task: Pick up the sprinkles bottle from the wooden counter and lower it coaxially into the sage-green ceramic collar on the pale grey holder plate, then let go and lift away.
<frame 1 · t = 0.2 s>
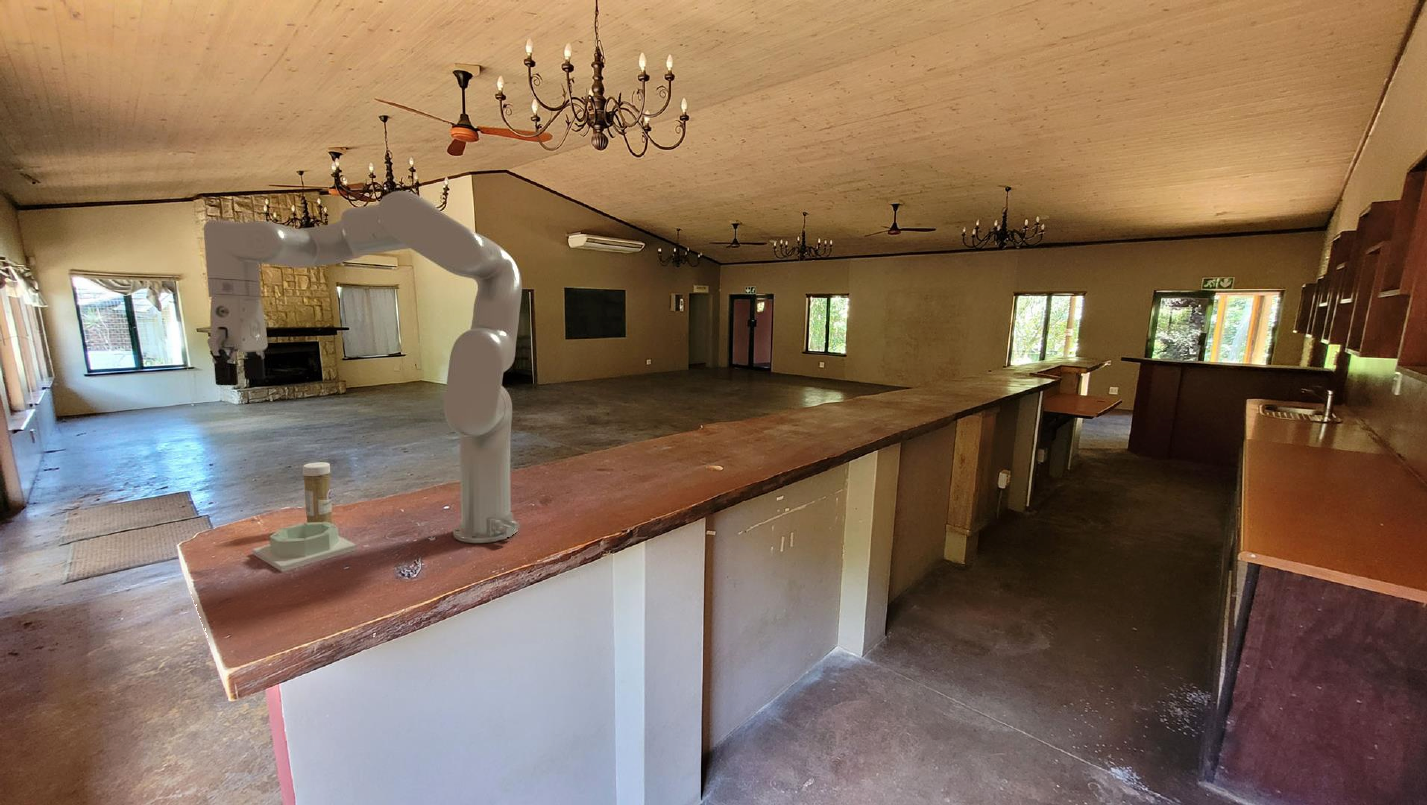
hand: (241, 382, 107), 30 cm above the worktop, tool pointing down, fingers open, 9 cm apart
sprinkles bottle: (320, 528, 116), on the worktop
bottle collar: (306, 551, 105), on the worktop
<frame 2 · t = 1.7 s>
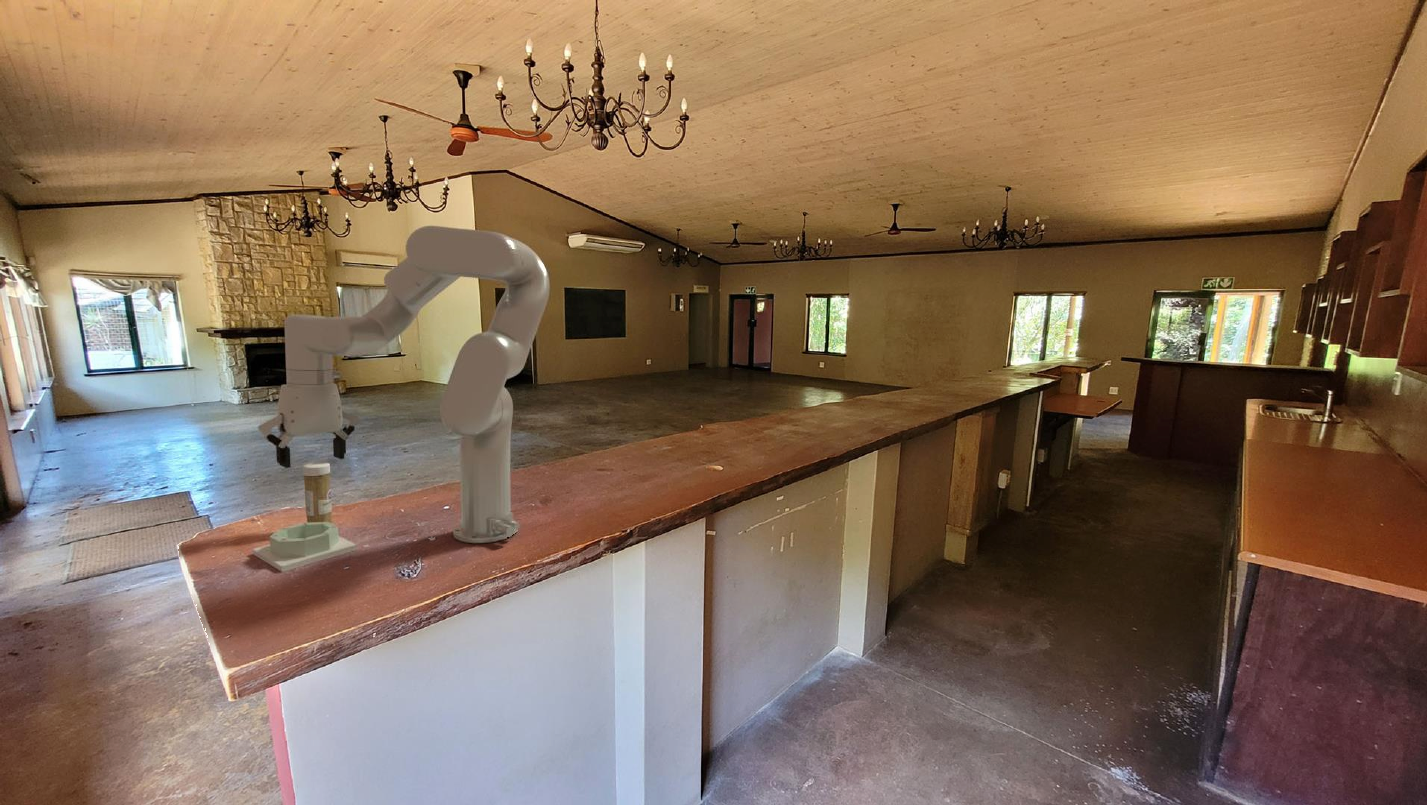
hand: (312, 461, 114), 14 cm above the worktop, tool pointing down, fingers open, 9 cm apart
nothing on the worktop moved.
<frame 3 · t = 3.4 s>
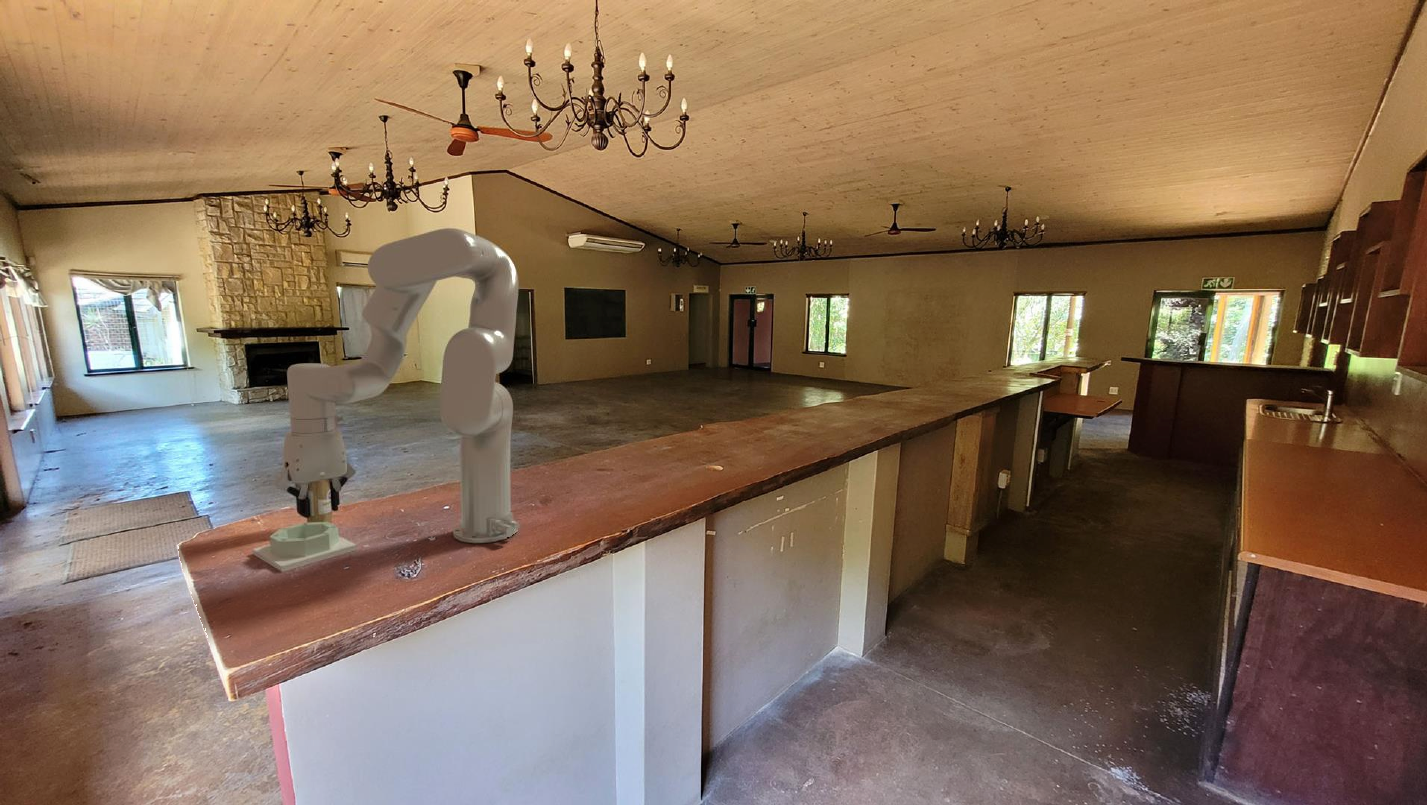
hand: (319, 511, 116), 3 cm above the worktop, tool pointing down, fingers closed on sprinkles bottle, 4 cm apart
sprinkles bottle: (320, 528, 116), on the worktop, touching gripper
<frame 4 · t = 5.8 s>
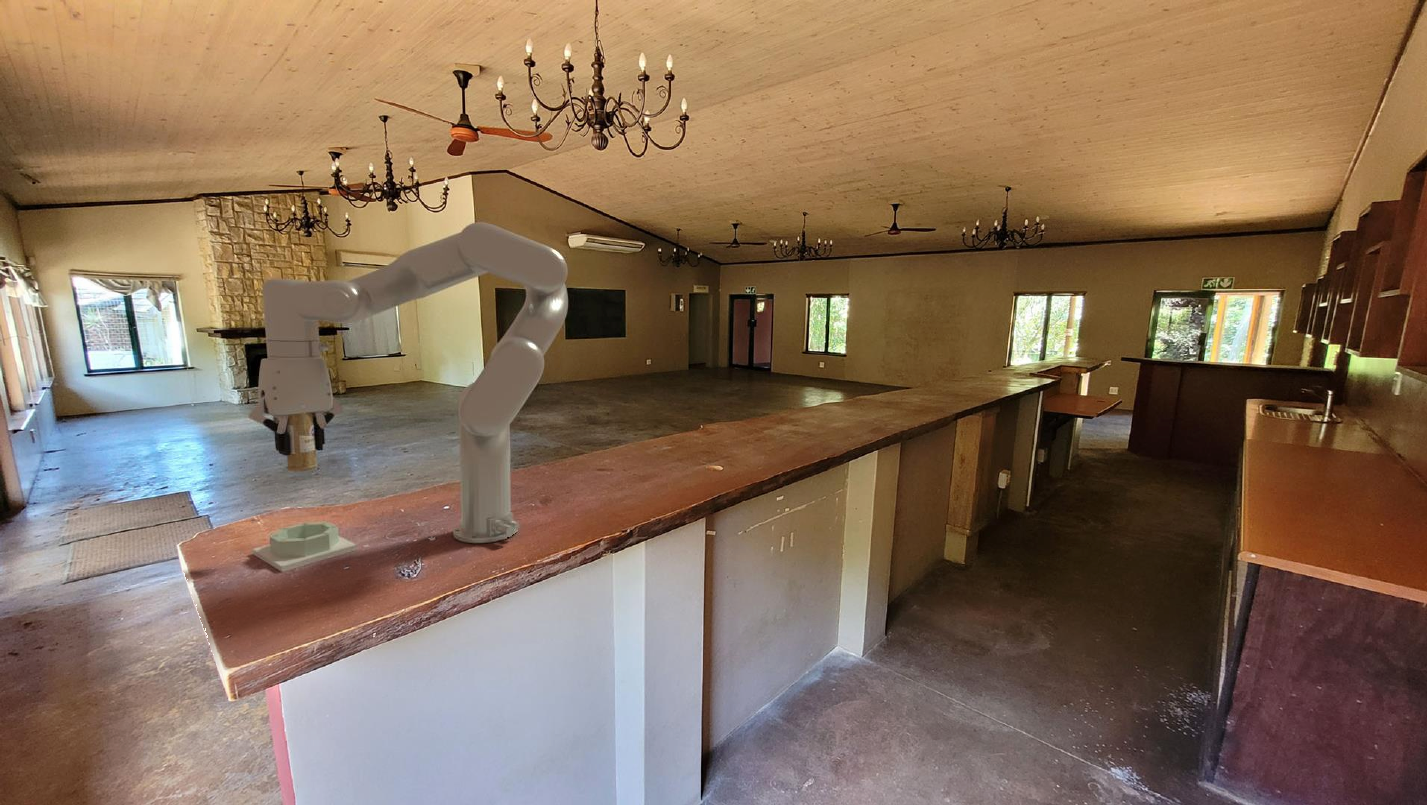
hand: (301, 450, 102), 19 cm above the worktop, tool pointing down, fingers closed on sprinkles bottle, 4 cm apart
sprinkles bottle: (302, 469, 103), point 16 cm above the worktop, touching gripper
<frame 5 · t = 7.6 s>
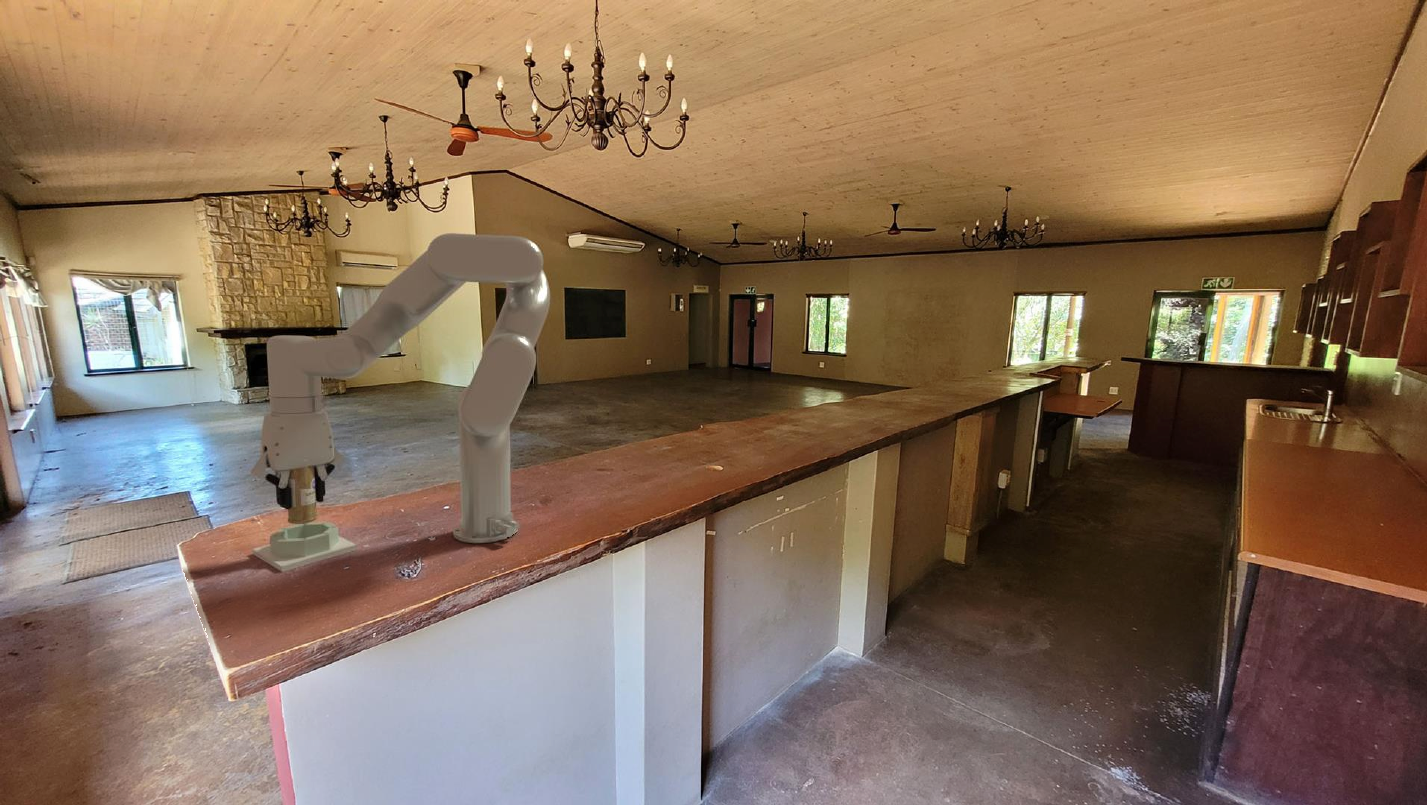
hand: (301, 503, 103), 9 cm above the worktop, tool pointing down, fingers closed on sprinkles bottle, 4 cm apart
sprinkles bottle: (302, 521, 104), point 6 cm above the worktop, touching gripper
when the fingers open (6 cm above the worktop, at t = 8.6 s): sprinkles bottle drops 2 cm, resting on bottle collar.
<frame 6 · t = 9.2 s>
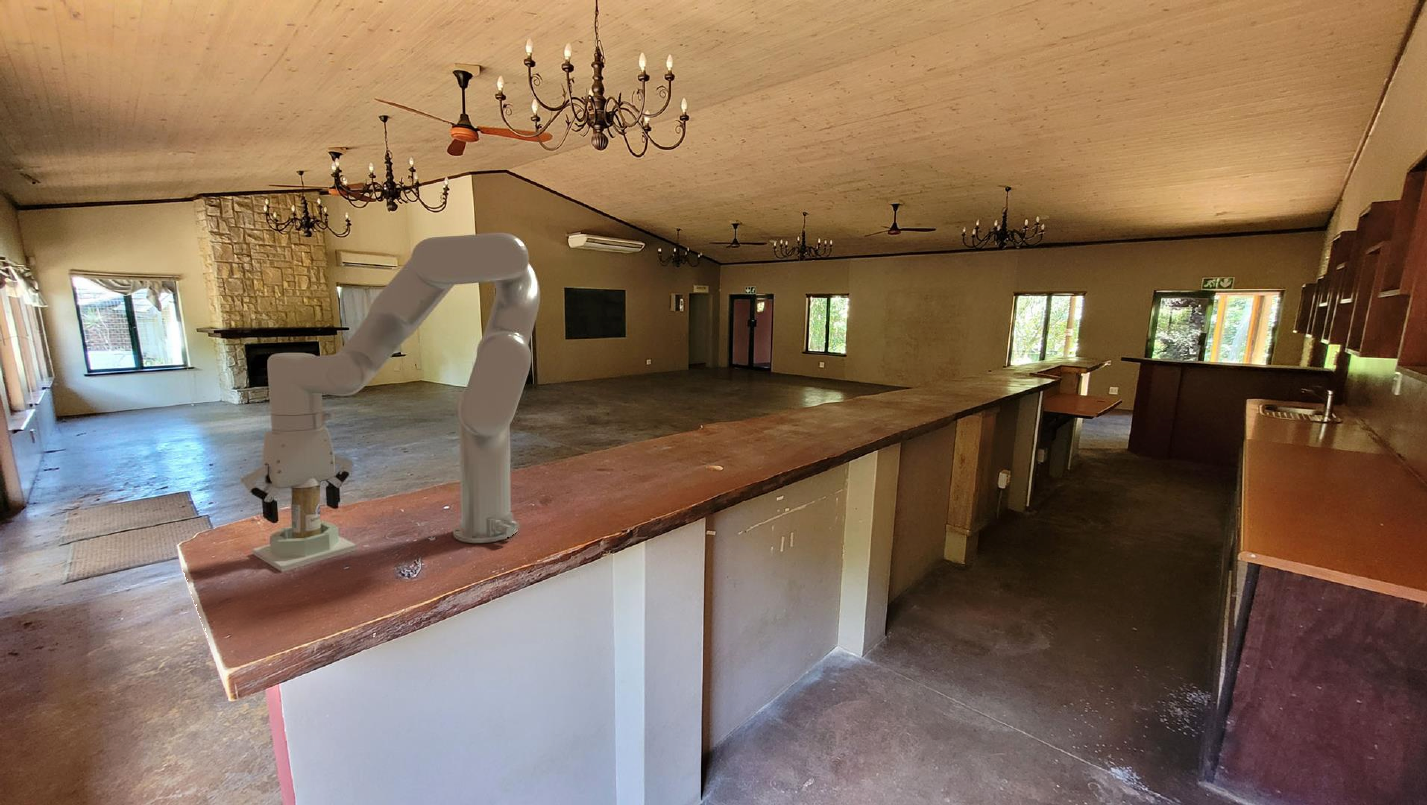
hand: (303, 514, 104), 7 cm above the worktop, tool pointing down, fingers open, 9 cm apart
sprinkles bottle: (306, 547, 105), point 1 cm above the worktop, touching bottle collar
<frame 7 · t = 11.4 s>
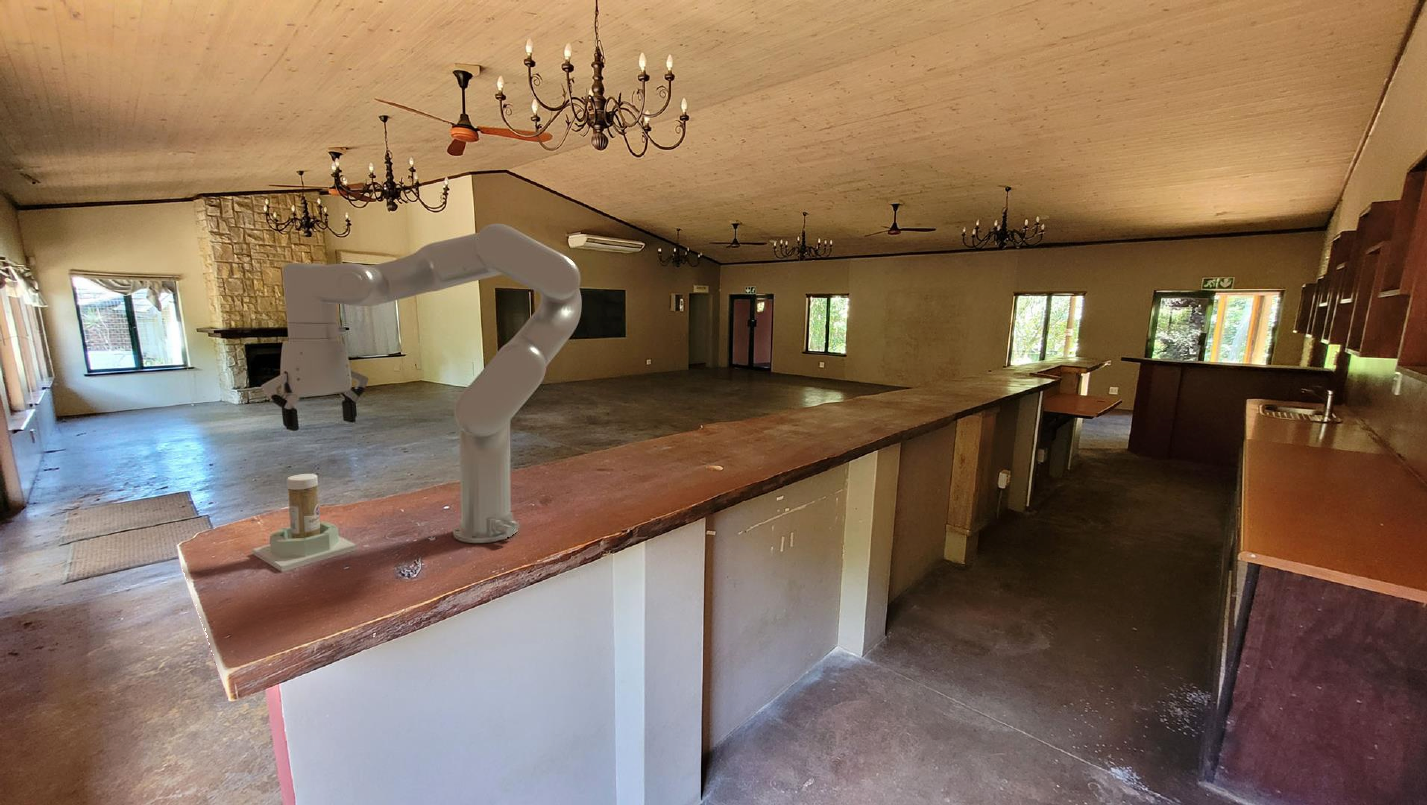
hand: (322, 425, 105), 23 cm above the worktop, tool pointing down, fingers open, 9 cm apart
nothing on the worktop moved.
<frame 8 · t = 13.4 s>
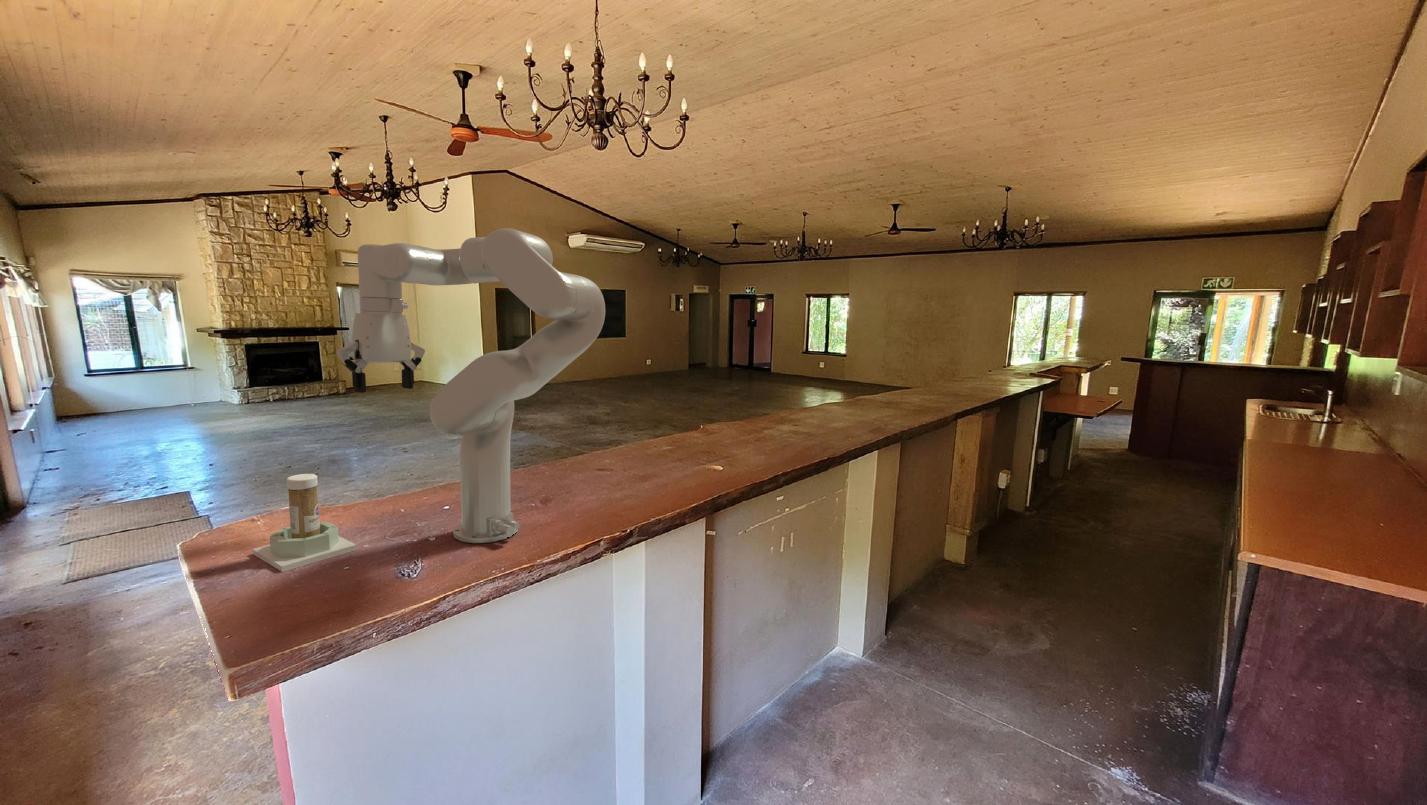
hand: (384, 390, 118), 28 cm above the worktop, tool pointing down, fingers open, 9 cm apart
nothing on the worktop moved.
at the end: sprinkles bottle 0.1 cm off-centre on the bottle collar, point 0.8 cm above the bottle collar's base; sprinkles bottle tilted 0°; the gripper is holding nothing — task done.
